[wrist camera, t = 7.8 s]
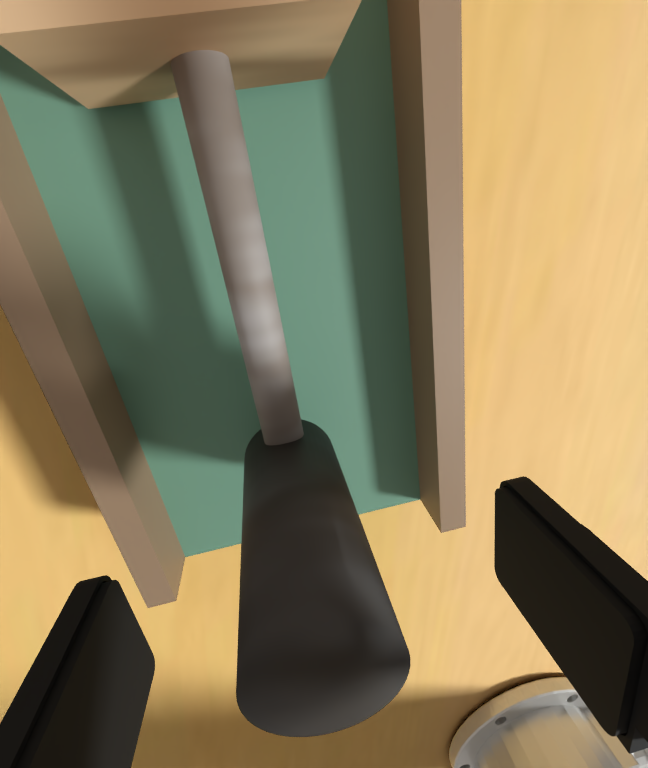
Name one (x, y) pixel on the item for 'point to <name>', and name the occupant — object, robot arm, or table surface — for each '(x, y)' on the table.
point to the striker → (249, 338)
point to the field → (209, 295)
